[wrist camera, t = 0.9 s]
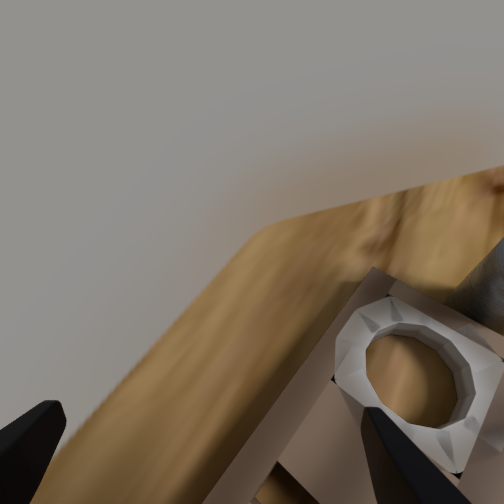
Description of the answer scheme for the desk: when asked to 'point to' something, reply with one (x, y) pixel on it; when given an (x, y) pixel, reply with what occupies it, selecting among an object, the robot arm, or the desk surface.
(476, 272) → the steel peg
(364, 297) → the bore block
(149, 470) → the desk surface
